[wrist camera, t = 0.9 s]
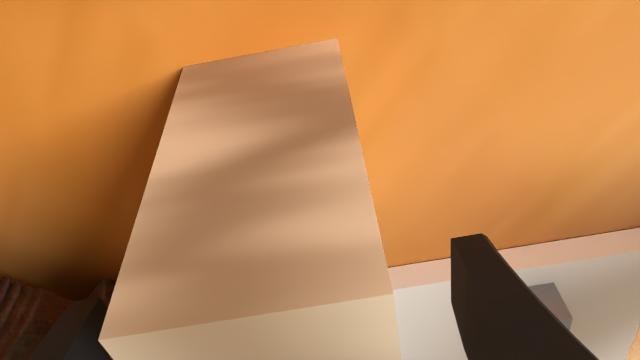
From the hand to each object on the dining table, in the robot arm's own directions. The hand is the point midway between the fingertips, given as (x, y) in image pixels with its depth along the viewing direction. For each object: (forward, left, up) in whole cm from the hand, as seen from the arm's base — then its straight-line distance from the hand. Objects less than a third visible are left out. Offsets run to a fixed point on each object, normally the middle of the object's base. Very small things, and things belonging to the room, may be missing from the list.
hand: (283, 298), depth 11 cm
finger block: (0, 0, -6) cm, 6 cm away
